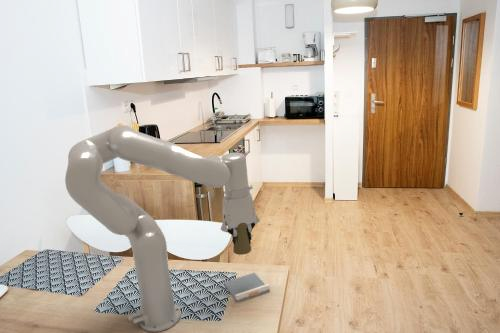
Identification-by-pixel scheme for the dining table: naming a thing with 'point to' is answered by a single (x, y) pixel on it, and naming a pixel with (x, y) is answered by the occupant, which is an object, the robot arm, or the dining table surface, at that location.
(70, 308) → the dining table surface
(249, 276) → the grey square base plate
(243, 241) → the olive brown pepper mill
